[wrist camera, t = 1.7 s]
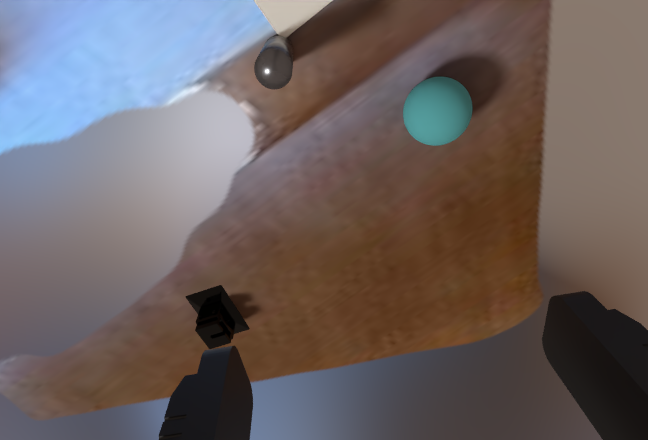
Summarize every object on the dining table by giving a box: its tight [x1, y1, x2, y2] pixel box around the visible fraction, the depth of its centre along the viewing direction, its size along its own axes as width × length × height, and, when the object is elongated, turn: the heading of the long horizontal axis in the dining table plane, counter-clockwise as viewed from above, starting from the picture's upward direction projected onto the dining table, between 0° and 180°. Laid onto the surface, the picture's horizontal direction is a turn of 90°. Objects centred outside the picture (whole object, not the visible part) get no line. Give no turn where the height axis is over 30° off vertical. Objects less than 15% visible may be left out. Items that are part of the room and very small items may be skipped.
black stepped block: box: [186, 285, 250, 349], centre depth 49 cm, size 12×7×5 cm, turn 19°
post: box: [254, 35, 293, 89], centre depth 31 cm, size 3×3×9 cm
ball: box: [403, 77, 472, 145], centre depth 35 cm, size 6×6×6 cm
